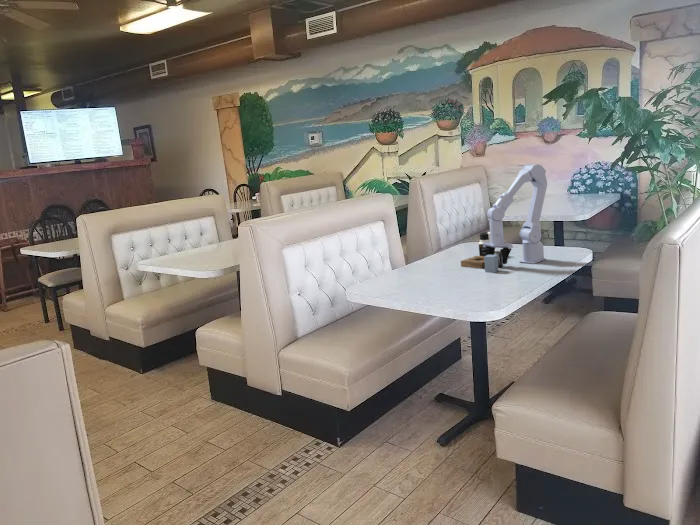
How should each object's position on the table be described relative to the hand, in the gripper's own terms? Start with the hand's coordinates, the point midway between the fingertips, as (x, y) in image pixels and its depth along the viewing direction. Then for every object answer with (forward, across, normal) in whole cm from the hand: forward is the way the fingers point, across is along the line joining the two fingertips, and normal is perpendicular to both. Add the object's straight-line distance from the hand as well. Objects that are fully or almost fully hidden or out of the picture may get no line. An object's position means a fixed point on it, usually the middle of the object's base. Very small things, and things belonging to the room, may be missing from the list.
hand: (498, 263), depth 256 cm
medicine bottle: (+2, -19, +17) cm, 26 cm away
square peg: (+2, +2, -8) cm, 8 cm away
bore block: (+2, -11, 0) cm, 11 cm away
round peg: (+2, 0, 0) cm, 2 cm away
